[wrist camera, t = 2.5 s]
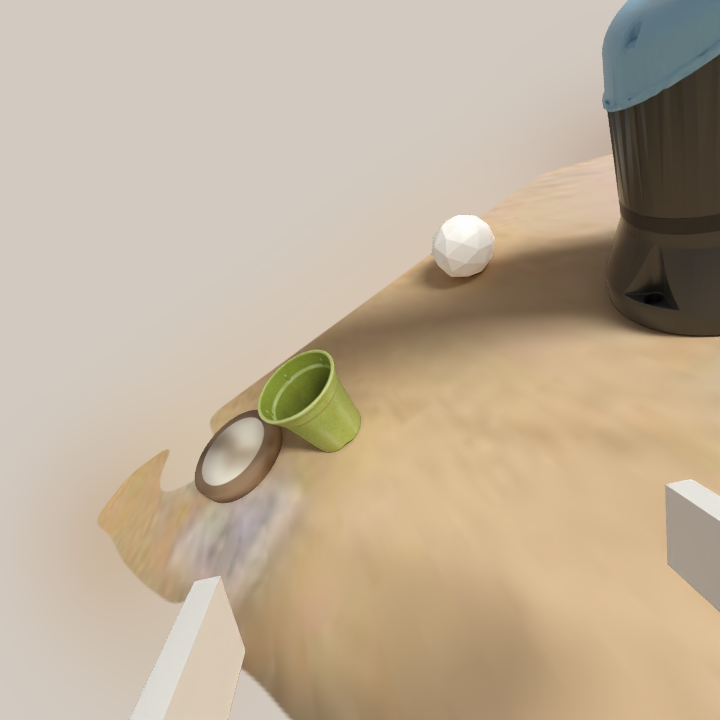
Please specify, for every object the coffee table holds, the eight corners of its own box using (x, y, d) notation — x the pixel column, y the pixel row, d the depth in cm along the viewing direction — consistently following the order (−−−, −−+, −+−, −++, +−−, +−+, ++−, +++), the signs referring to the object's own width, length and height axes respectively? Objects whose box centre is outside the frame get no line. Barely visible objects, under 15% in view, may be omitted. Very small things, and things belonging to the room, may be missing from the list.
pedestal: (232, 422, 58) (222, 414, 57) (294, 414, 52) (285, 405, 51) (191, 502, 51) (178, 494, 50) (257, 504, 45) (245, 495, 43)
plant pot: (362, 466, 41) (314, 418, 36) (293, 467, 46) (243, 425, 41) (382, 393, 47) (344, 342, 41) (319, 400, 52) (278, 356, 46)
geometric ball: (480, 294, 54) (447, 282, 48) (443, 262, 58) (409, 248, 53) (518, 244, 51) (488, 226, 45) (475, 215, 55) (443, 194, 49)
